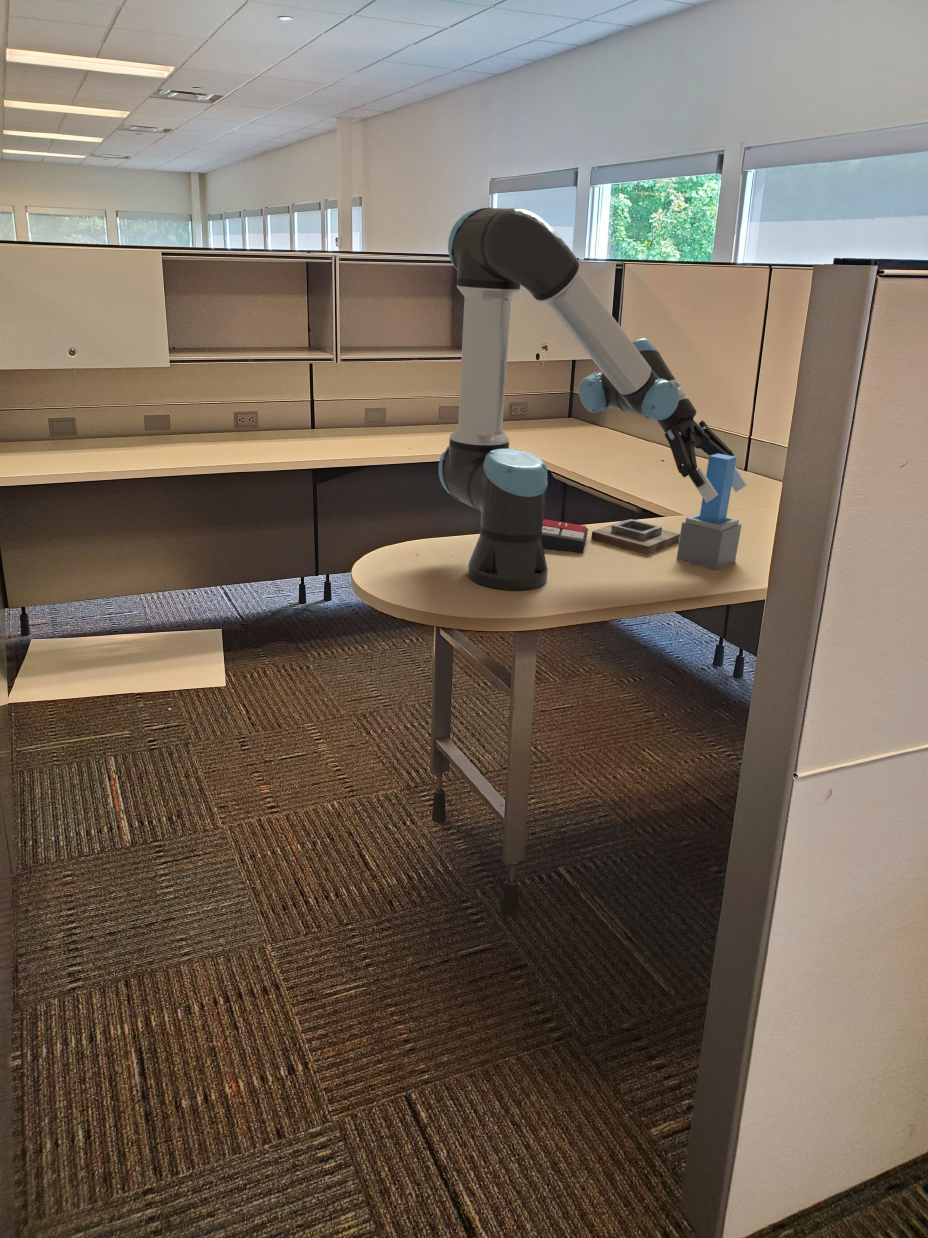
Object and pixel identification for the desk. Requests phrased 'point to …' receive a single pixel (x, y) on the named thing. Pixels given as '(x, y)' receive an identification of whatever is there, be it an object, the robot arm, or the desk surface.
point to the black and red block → (563, 536)
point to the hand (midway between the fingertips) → (727, 493)
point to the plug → (718, 488)
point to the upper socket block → (708, 542)
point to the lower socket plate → (636, 536)
